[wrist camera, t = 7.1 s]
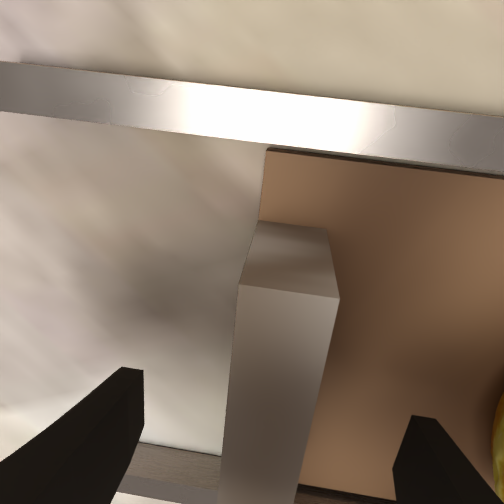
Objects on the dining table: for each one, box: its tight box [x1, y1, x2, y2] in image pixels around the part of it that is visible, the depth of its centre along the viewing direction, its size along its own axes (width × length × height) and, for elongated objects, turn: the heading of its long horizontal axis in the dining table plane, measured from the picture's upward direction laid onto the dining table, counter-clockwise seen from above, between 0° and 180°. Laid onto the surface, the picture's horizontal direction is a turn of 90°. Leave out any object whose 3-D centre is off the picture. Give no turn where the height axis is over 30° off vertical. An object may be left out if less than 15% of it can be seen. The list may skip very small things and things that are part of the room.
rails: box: [0, 61, 504, 504], centre depth 13 cm, size 16×21×2 cm
